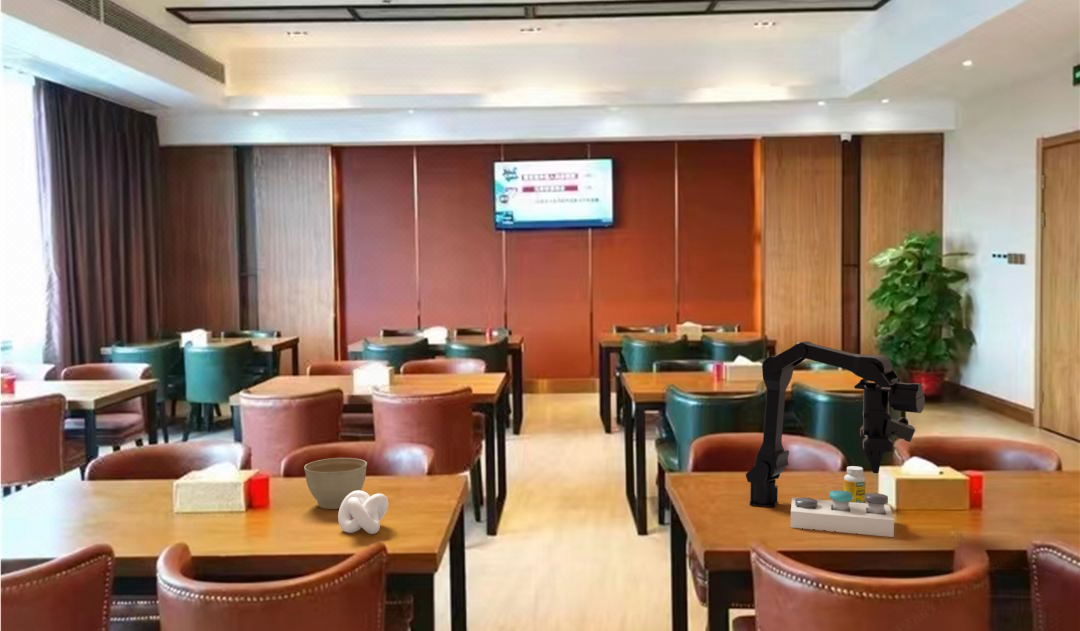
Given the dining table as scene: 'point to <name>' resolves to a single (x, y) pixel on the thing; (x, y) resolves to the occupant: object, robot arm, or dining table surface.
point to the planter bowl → (334, 479)
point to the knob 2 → (876, 502)
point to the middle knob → (840, 500)
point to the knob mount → (843, 519)
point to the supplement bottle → (855, 484)
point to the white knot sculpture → (362, 512)
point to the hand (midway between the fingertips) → (875, 473)
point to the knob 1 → (806, 503)
